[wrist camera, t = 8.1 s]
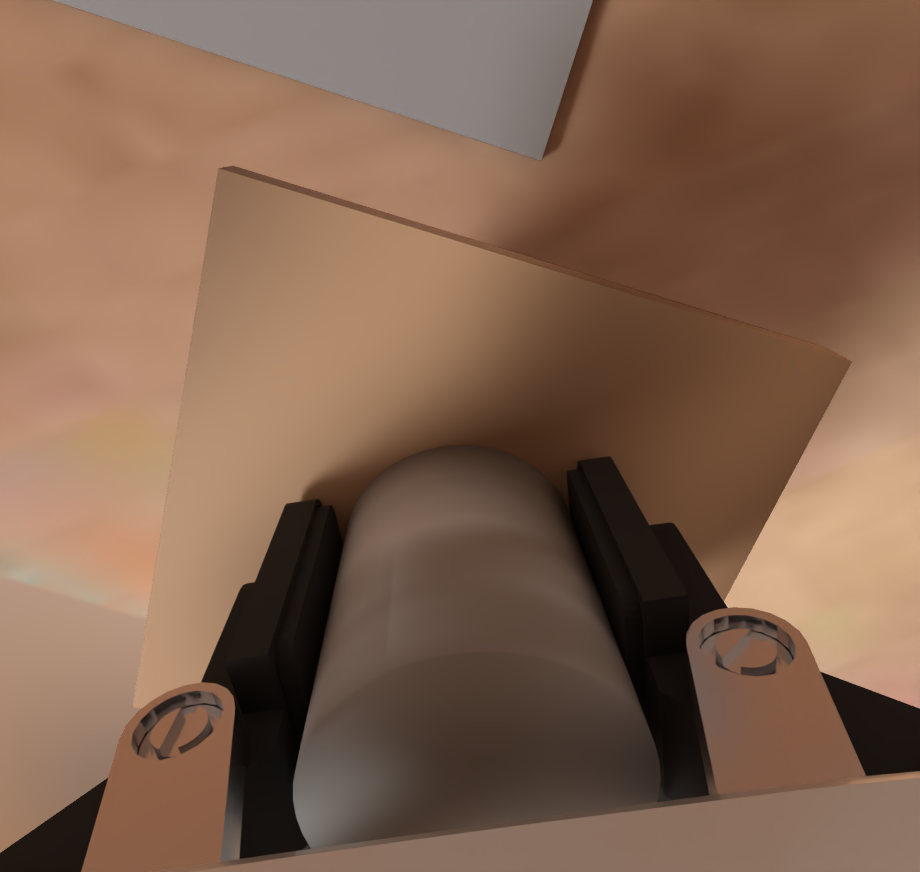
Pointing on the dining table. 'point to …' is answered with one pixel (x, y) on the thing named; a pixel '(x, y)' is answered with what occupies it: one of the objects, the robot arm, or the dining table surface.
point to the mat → (395, 53)
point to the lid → (453, 497)
